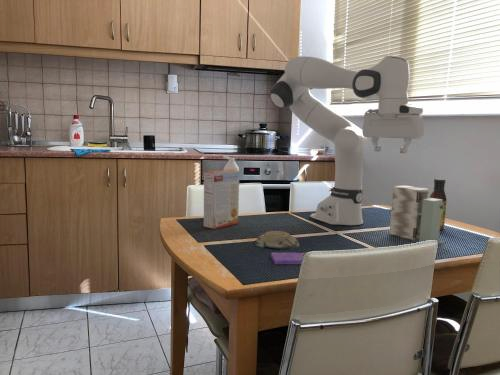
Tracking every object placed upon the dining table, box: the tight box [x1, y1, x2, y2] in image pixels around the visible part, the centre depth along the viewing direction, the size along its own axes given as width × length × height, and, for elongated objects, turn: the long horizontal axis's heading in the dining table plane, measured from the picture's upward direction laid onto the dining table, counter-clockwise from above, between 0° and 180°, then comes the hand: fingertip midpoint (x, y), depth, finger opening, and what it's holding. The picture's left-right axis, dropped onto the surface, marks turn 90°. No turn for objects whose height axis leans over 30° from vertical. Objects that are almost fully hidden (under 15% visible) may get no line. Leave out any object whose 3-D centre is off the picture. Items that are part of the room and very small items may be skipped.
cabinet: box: [389, 184, 447, 246], centre depth 153 cm, size 18×10×18 cm, turn 40°
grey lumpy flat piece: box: [254, 230, 300, 251], centre depth 142 cm, size 15×4×15 cm
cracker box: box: [203, 169, 240, 230], centre depth 162 cm, size 14×6×21 cm, turn 141°
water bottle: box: [222, 155, 240, 172], centre depth 178 cm, size 9×6×25 cm
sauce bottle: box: [429, 178, 448, 230], centre depth 171 cm, size 7×6×20 cm
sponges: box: [270, 252, 306, 265], centre depth 125 cm, size 7×13×2 cm, turn 96°
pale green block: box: [419, 197, 444, 241], centre depth 149 cm, size 5×6×15 cm
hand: (390, 152), depth 138 cm, fingers open, 8 cm apart
